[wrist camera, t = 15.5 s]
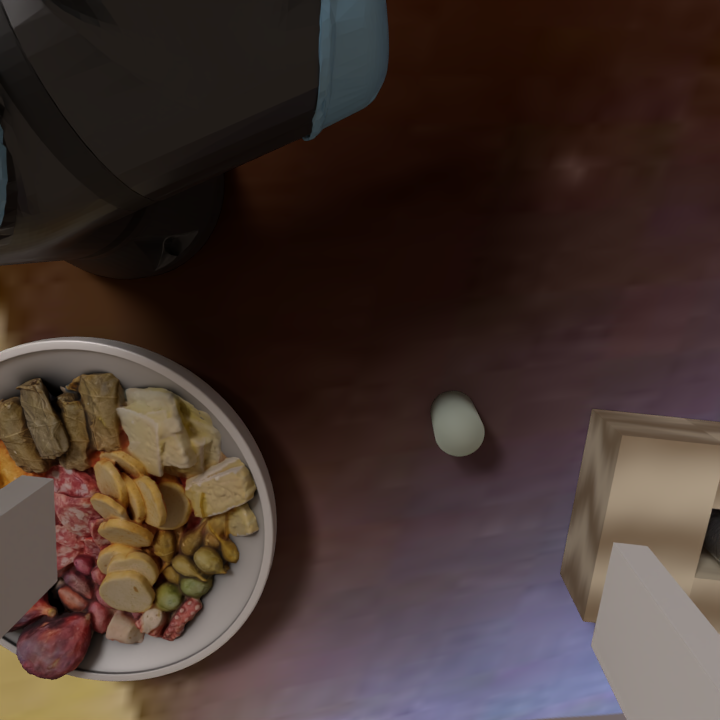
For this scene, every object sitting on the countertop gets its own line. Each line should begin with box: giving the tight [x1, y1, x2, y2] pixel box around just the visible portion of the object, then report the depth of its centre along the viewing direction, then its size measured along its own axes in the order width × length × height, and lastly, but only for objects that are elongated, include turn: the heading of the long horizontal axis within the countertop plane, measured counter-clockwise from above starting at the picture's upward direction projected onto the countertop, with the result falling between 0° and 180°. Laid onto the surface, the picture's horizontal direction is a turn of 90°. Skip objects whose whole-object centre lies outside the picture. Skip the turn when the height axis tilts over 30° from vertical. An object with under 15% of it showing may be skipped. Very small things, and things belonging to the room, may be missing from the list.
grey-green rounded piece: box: [430, 391, 485, 456], centre depth 42 cm, size 4×4×5 cm
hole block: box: [560, 409, 720, 635], centre depth 42 cm, size 15×20×6 cm
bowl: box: [0, 337, 277, 681], centre depth 45 cm, size 30×30×8 cm
